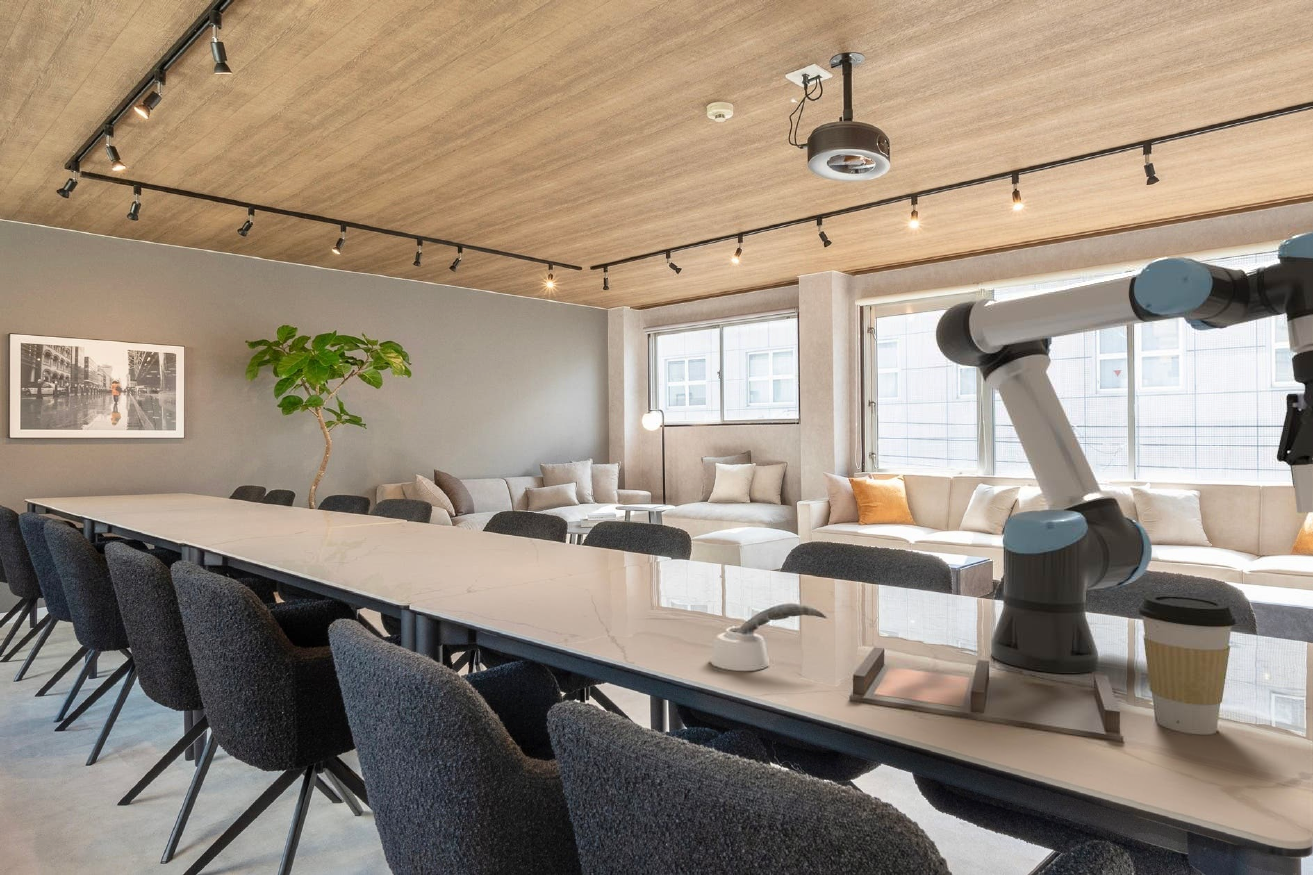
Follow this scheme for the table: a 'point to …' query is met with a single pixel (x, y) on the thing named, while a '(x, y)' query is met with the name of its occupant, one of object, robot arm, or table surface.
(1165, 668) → the coffee cup
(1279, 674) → the table surface
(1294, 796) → the table surface
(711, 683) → the table surface
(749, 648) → the inkwell
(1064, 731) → the slot rack
